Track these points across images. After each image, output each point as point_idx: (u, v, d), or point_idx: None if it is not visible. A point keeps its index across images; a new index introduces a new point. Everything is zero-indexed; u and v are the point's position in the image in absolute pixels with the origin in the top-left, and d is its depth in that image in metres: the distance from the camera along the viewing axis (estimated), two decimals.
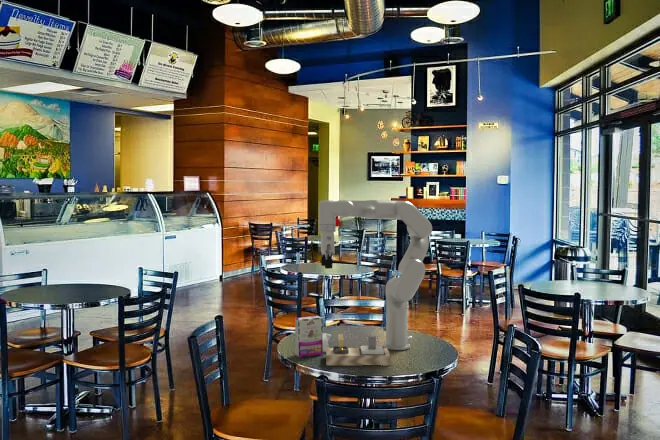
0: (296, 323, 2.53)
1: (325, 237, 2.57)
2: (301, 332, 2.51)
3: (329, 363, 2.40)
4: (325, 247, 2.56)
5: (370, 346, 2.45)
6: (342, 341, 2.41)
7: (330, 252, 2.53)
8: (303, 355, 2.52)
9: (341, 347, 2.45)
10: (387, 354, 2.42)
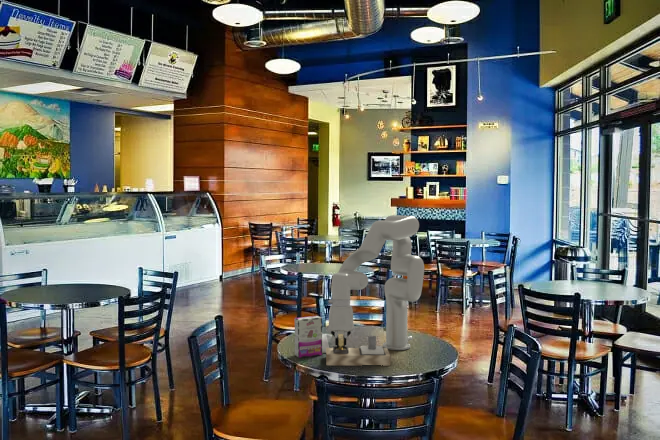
0: (296, 323, 2.53)
1: None
2: (301, 332, 2.51)
3: (329, 363, 2.40)
4: None
5: (370, 346, 2.45)
6: (342, 341, 2.41)
7: None
8: (303, 355, 2.52)
9: (341, 347, 2.45)
10: (387, 354, 2.42)
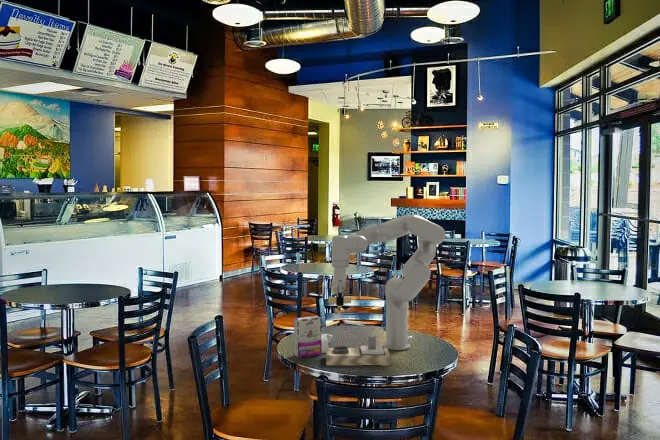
0: (295, 323, 2.52)
1: None
2: (300, 332, 2.51)
3: (329, 363, 2.40)
4: None
5: (370, 346, 2.45)
6: None
7: None
8: (302, 356, 2.52)
9: (338, 307, 2.61)
10: (387, 354, 2.42)
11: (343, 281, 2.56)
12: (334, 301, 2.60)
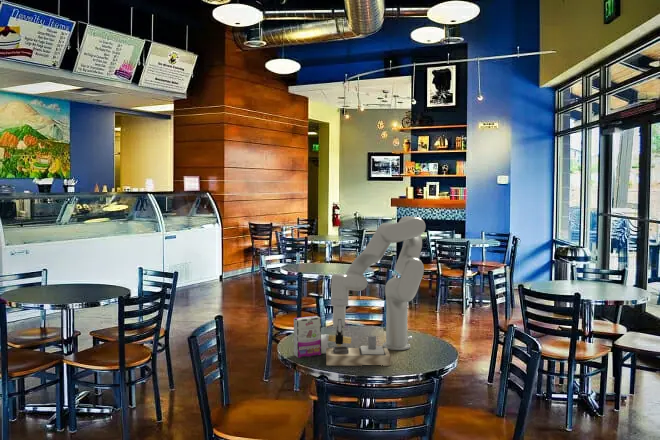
0: (295, 323, 2.52)
1: None
2: (300, 332, 2.51)
3: (329, 363, 2.40)
4: None
5: (370, 346, 2.45)
6: None
7: None
8: (302, 356, 2.51)
9: (337, 345, 2.61)
10: (387, 354, 2.42)
11: (342, 320, 2.56)
12: (334, 339, 2.61)
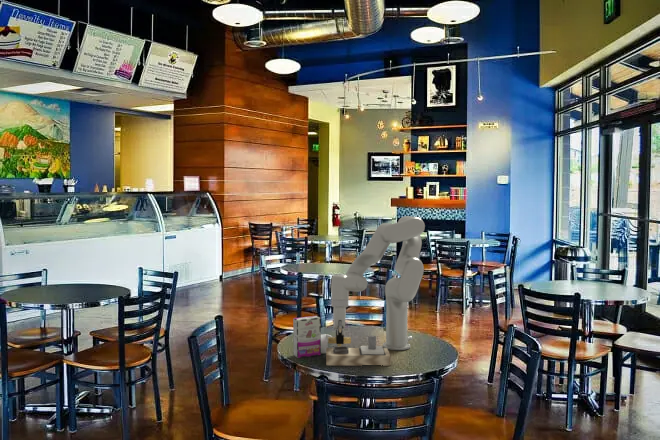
0: (294, 323, 2.52)
1: None
2: (299, 332, 2.50)
3: (329, 363, 2.40)
4: None
5: (370, 346, 2.45)
6: (328, 339, 2.61)
7: None
8: (302, 356, 2.51)
9: None
10: (387, 354, 2.42)
11: (343, 321, 2.56)
12: (334, 341, 2.61)
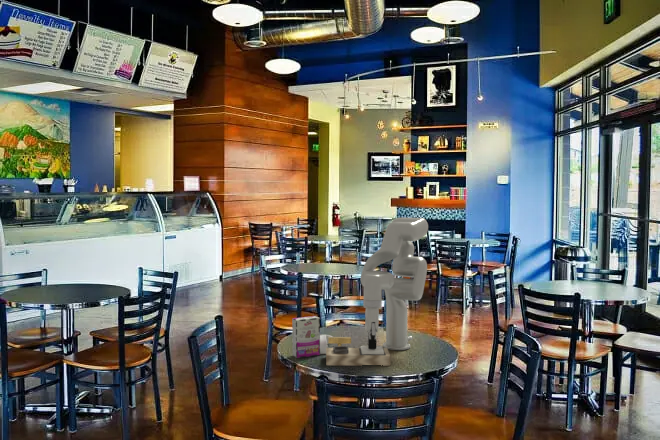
0: (293, 323, 2.52)
1: None
2: (298, 332, 2.50)
3: (329, 363, 2.40)
4: None
5: None
6: (328, 339, 2.61)
7: None
8: (301, 356, 2.51)
9: None
10: (387, 354, 2.42)
11: (376, 323, 2.41)
12: (334, 341, 2.61)
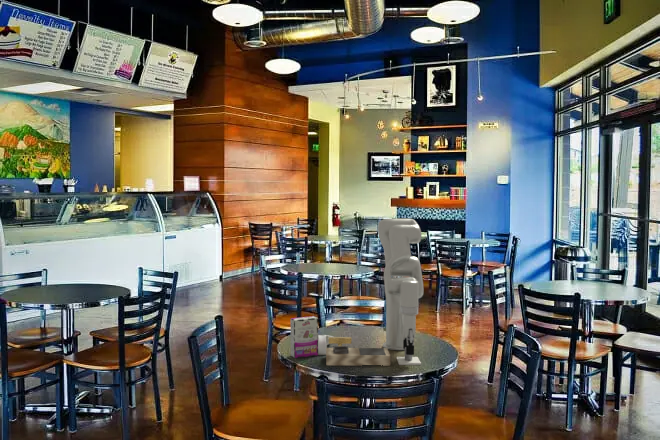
0: (291, 324, 2.52)
1: None
2: (296, 332, 2.50)
3: (329, 363, 2.40)
4: None
5: (407, 357, 2.45)
6: None
7: None
8: (299, 356, 2.51)
9: None
10: (387, 354, 2.42)
11: (413, 329, 2.41)
12: (334, 341, 2.61)
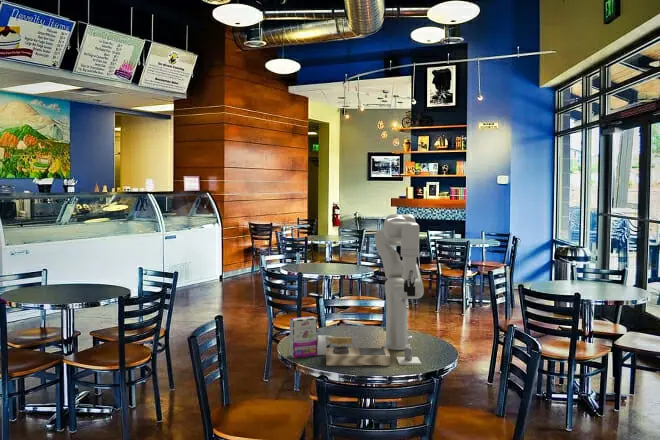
0: (291, 324, 2.52)
1: None
2: (295, 332, 2.50)
3: (329, 363, 2.40)
4: None
5: (407, 357, 2.45)
6: (329, 339, 2.61)
7: None
8: (298, 356, 2.51)
9: None
10: (387, 354, 2.42)
11: (414, 271, 2.40)
12: (334, 341, 2.61)
